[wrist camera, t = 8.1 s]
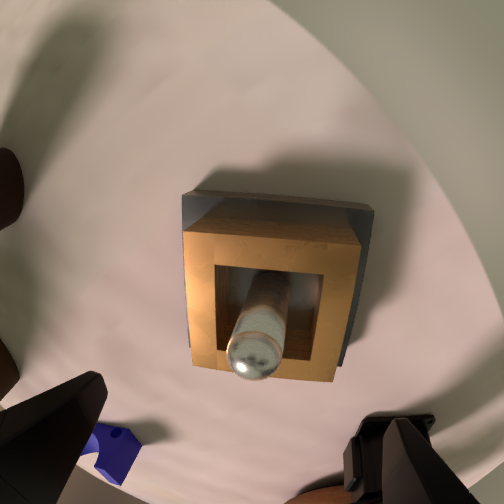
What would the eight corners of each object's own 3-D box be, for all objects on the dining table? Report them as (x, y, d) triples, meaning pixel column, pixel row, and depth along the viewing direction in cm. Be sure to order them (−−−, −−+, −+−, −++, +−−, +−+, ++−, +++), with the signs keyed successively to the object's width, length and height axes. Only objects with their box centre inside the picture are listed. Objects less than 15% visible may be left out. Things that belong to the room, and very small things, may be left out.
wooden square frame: (351, 228, 13) (361, 245, 11) (330, 351, 16) (332, 382, 13) (202, 216, 14) (183, 231, 12) (206, 337, 17) (192, 365, 14)
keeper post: (367, 204, 14) (420, 258, 7) (339, 351, 17) (348, 451, 10) (192, 190, 16) (110, 229, 9) (196, 334, 19) (149, 421, 12)
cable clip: (78, 436, 29) (58, 466, 24) (60, 413, 28) (36, 443, 22) (148, 452, 26) (128, 492, 21) (129, 427, 25) (104, 470, 19)
